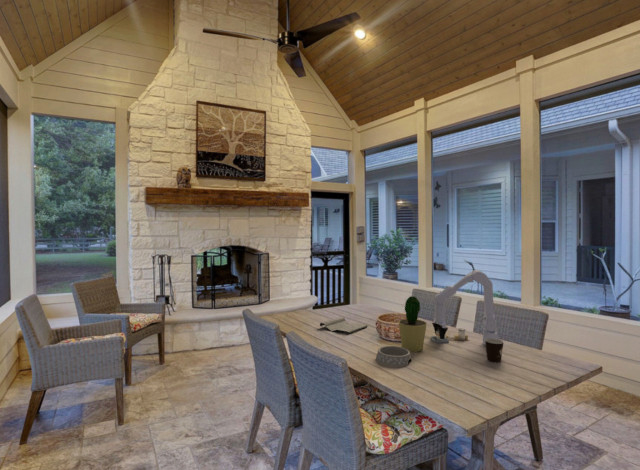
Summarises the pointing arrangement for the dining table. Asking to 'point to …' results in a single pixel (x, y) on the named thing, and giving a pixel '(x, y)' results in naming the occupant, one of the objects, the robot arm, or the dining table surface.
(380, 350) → the dog bowl
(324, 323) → the mat
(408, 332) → the potted cactus
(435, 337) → the tray
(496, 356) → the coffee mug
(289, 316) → the dining table surface
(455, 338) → the fuse holder
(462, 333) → the cylinder
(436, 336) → the cylinder
